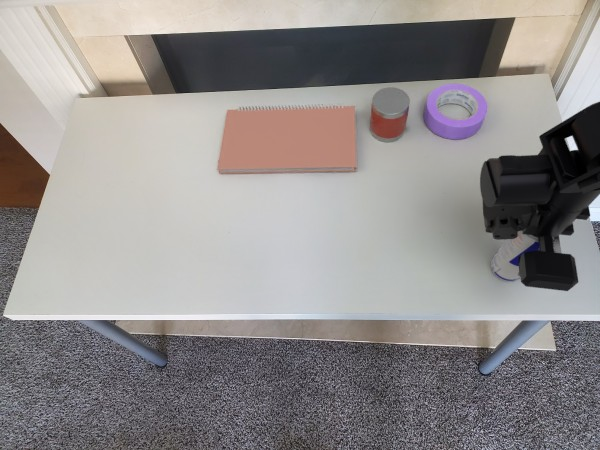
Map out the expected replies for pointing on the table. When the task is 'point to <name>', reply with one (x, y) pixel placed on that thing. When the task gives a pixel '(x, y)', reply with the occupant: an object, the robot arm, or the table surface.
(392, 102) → the food tin
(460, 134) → the tape roll
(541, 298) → the table surface
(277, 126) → the notebook
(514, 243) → the beverage can
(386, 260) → the table surface
